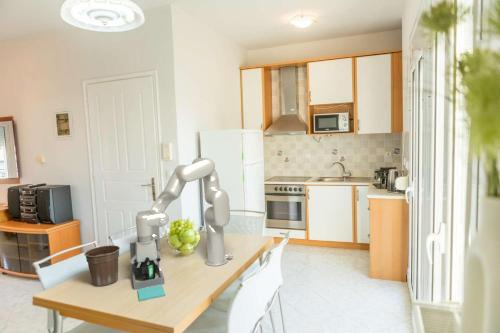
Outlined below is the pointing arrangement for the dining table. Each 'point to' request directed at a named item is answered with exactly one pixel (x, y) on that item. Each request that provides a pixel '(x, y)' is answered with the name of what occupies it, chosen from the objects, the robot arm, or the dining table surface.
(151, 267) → the supplement bottle
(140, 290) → the mat
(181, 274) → the dining table surface
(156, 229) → the cylinder vase
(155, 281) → the case
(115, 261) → the plant pot
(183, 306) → the dining table surface
